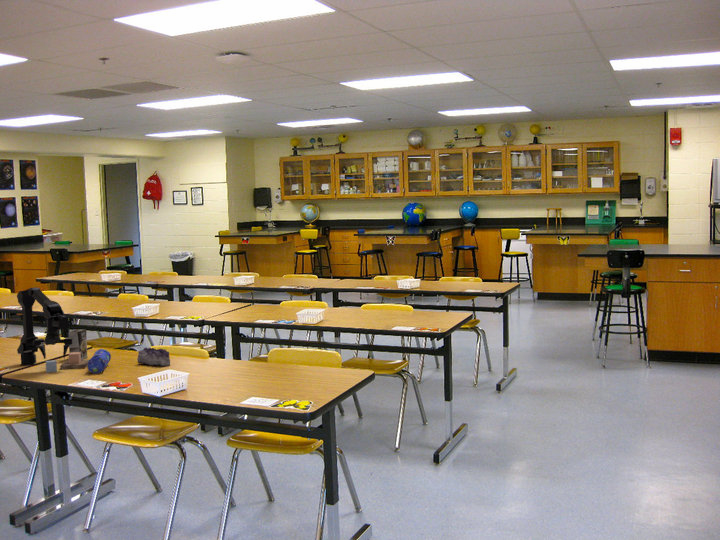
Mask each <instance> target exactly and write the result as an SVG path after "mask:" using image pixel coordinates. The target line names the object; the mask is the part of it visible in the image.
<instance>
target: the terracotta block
mask: <svg viewBox="0 0 720 540" xmlns="http://www.w3.org/2000/svg"><path fill="white" fill-rule="evenodd" d="M68 361H69V364H77V363H80V362H81V352H71V353H69V352H68Z"/></svg>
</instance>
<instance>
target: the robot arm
mask: <svg viewBox="0 0 720 540" xmlns="http://www.w3.org/2000/svg"><path fill="white" fill-rule="evenodd" d="M16 298H17V303H18V304H19V305H20V307H21V313H22V329H23V332H22V333H23V334H22V336H21V338H20V344H19V345H18V347H17V349H16V352H17V354H18V355H20V366H33V365H35V364H36V363H37V354H35V353H37V352H38V350H40V352H41V354H42V356H43V359H44V360H45V359H47V357H46V356H47V354H46V346H49V345H50V346H55V345H56V344H63V346H62V347H63V353H62V354H63V356H62V357H63V359H65V358H66V355H67V353H68V350H69V346H70V345H71V344H73V343H74V338H73V337H69V336H68V337H65V338H63V339H61V334H60V333H61V330H62V331H66V330H68V328H69V327H70V322H69V319H67V318H66V315H65V311H64V310H63V309H62V306H61V305H60V303H59V302H57V301H54V300H51V299H50V298H48V296H47V295H46V294H45V293H44V292H42V290H41V289H40V287H36V286H35V287H30V288H27V289H25V290H19V291H18V292H17V294H16ZM36 302H37V303H38V304H39V305H40V306H41V307H42V312H43V313H44V315H45V317H44V319H45V320H46V335H45V337H44V338H39V337H38V336H37V335H36V334H35V333H34V317H33V316H34V315H33V314H34V313H33V306H34V305H35V303H36ZM38 353H39V352H38Z"/></svg>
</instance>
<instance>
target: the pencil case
mask: <svg viewBox="0 0 720 540" xmlns="http://www.w3.org/2000/svg"><path fill="white" fill-rule="evenodd" d="M111 355H112V354H111V353H110V351H109V350H107V349H103V348H99V349H98V350H96V351H95V352H94V354H93V356H92V357H91V358H90V359H88V360H89V362H88V365H87V369H88V371H89V372H90V373H92V374H95V375H96V374H100V373H102V372H103V371H104V370H105V369H106V367H107V366H108V364H109V363H110V362H111V359H112V356H111Z"/></svg>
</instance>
